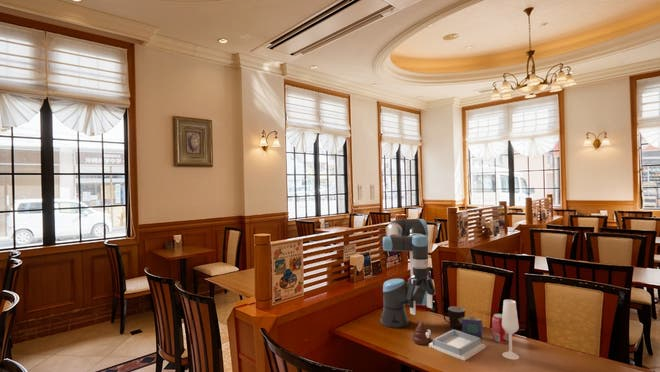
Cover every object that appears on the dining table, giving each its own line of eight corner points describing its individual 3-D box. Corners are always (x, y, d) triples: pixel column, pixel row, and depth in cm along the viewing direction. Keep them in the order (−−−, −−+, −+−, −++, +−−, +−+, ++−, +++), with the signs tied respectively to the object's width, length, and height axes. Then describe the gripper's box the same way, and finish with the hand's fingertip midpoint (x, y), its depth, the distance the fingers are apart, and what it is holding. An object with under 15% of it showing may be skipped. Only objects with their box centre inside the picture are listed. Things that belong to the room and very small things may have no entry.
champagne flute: (516, 352, 159) (515, 299, 159) (521, 360, 153) (520, 304, 153) (500, 351, 161) (499, 298, 161) (504, 358, 154) (503, 303, 154)
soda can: (508, 338, 174) (507, 314, 174) (508, 344, 168) (508, 319, 168) (492, 336, 177) (492, 312, 177) (492, 342, 171) (491, 317, 170)
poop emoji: (415, 335, 180) (414, 317, 180) (432, 338, 176) (432, 319, 176) (410, 343, 171) (410, 324, 171) (428, 347, 167) (428, 327, 167)
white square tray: (428, 346, 167) (428, 338, 167) (450, 335, 179) (450, 327, 179) (464, 360, 153) (464, 351, 153) (485, 348, 165) (485, 339, 165)
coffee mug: (463, 325, 192) (462, 306, 192) (467, 331, 183) (467, 312, 183) (440, 324, 193) (440, 306, 193) (444, 331, 184) (444, 311, 184)
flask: (482, 336, 177) (481, 315, 177) (483, 339, 174) (482, 317, 174) (462, 334, 180) (461, 313, 179) (462, 337, 177) (462, 315, 177)
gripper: (410, 272, 163) (411, 319, 162) (441, 264, 179) (442, 306, 178) (397, 270, 168) (398, 315, 168) (429, 262, 184) (430, 303, 184)
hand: (421, 310), depth 173 cm, fingers open, 13 cm apart
